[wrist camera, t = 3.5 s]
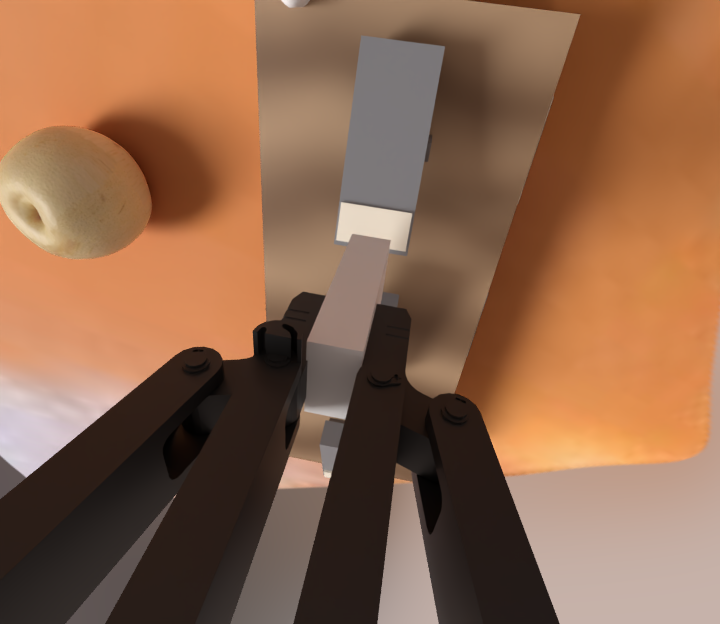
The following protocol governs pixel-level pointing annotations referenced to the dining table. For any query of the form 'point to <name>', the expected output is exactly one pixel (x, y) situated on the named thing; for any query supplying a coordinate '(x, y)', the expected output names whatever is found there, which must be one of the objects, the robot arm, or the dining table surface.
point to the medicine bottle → (295, 3)
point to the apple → (74, 192)
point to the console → (440, 170)
